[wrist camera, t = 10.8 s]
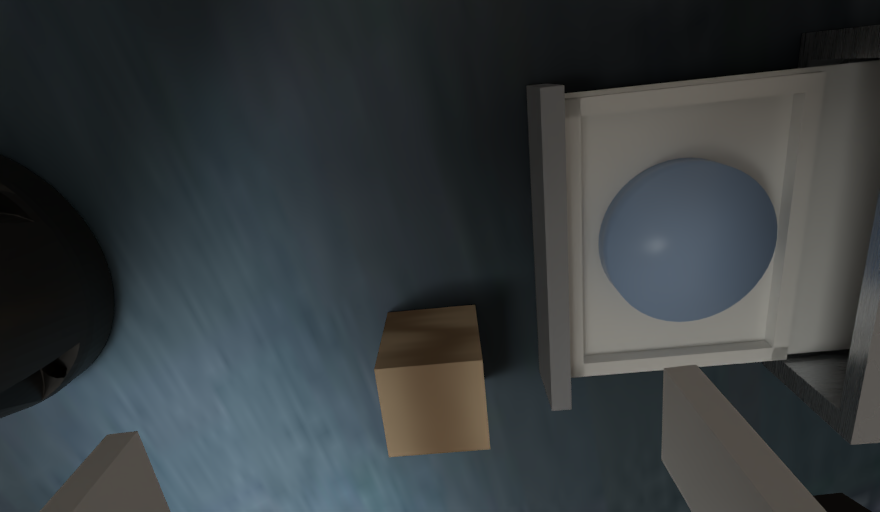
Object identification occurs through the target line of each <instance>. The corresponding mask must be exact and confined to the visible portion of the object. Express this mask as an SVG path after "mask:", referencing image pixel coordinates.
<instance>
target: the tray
mask: <svg viewBox="0 0 880 512" xmlns="http://www.w3.org/2000/svg"><path fill="white" fill-rule="evenodd" d="M526 89H527V111H528V133H529V155H530V177H531V199H532V221H533V243H534V265H535V287H536V309H537V331H538V353H539V371H540V375H541V378H542V381H543V384H544V387H545V390H546V393H547V397H548V400H549V403H550V406H551V409H552V411H557V410H569V409H571V378H573V377H585V376H596V375H608V374H620V373H632V372H644V371H656V370H664V368H670V367H678V366H686V365H695V364H696V365H697V366H698V367H703V366H715V365H727V364H739V363H751V362H763V361H775V360H787V354H796V353H807V352H819V351H831V350H843V349H850V347H851V341H852V336H853V330H854V325H855V320H856V314H857V309H858V303H859V298H860V292H861V287H862V281H863V276H864V271H865V265H866V260H867V254H868V249H869V243H870V238H871V232H872V227H873V222H874V216H875V211H876V205H877V200H878V194H879V189H880V60H871V61H861V62H852V63H843V64H834V65H824V66H815V67H806V68H796V69H787V70H778V71H768V72H759V73H750V74H741V75H731V76H722V77H713V78H703V79H694V80H685V81H675V82H666V83H657V84H648V85H638V86H629V87H620V88H610V89H601V90H592V91H582V92H573V93H564V85H557V84H538V85H529V86H526ZM679 158H702V159H707V160H711V161H715V162H718V163H721V164H724V165H727V166H730V167H733V168H736V169H738V170H741V171H742V172H744V173H746V174H748V175H749V176H751V177H752V178H753V179H754V180H756V181H757V182H758V183H759V184H760V185H761V186H762V188H763V189H764V190H765V191H766V193H767V195H768V196H769V198H770V200H771V202H772V204H773V206H774V210H775V214H776V218H777V241H776V247H775V250H774V254H773V257H772V259H771V262H770V264H769V266H768V268H767V270H766V271H765V273H764V275H763V276H762V278H761V279H760V280H759V282H758V283H757V284H756V286H755V287H754V288H753V289H752V290H751V291H750V292H749V293H748V294H747V295H746V296H745V297H743V298H742V299H741V300H740V301H738V302H737V303H735V304H734V305H733V306H731V307H730V308H728V309H726V310H724V311H722V312H720V313H718V314H715V315H713V316H710V317H707V318H703V319H700V320H694V321H686V322H673V321H665V320H660V319H656V318H653V317H650V316H648V315H646V314H644V313H641V312H640V311H638V310H637V309H635V308H634V307H632V306H631V305H630V304H629V303H628V302H627V301H626V300H625V299H624V298H623V297H622V295H621V294H620V293H619V292H618V291H617V289H616V288H615V287H614V286H613V284H612V283H611V282H610V281H609V279H608V277H607V276H606V274H605V272H604V269H603V267H602V264H601V260H600V256H599V247H598V244H599V233H600V227H601V224H602V221H603V218H604V215H605V213H606V211H607V209H608V207H609V205H610V203H611V202H612V200H613V199H614V197H615V196H616V195H617V194H618V192H619V191H620V190H621V189H622V188H623V187H624V186H625V185H626V184H627V183H628V182H629V181H630V180H631V179H633V178H634V177H635V176H637V175H638V174H639V173H641V172H643V171H644V170H646V169H648V168H650V167H652V166H654V165H656V164H659V163H662V162H665V161H668V160H673V159H679Z"/></svg>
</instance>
